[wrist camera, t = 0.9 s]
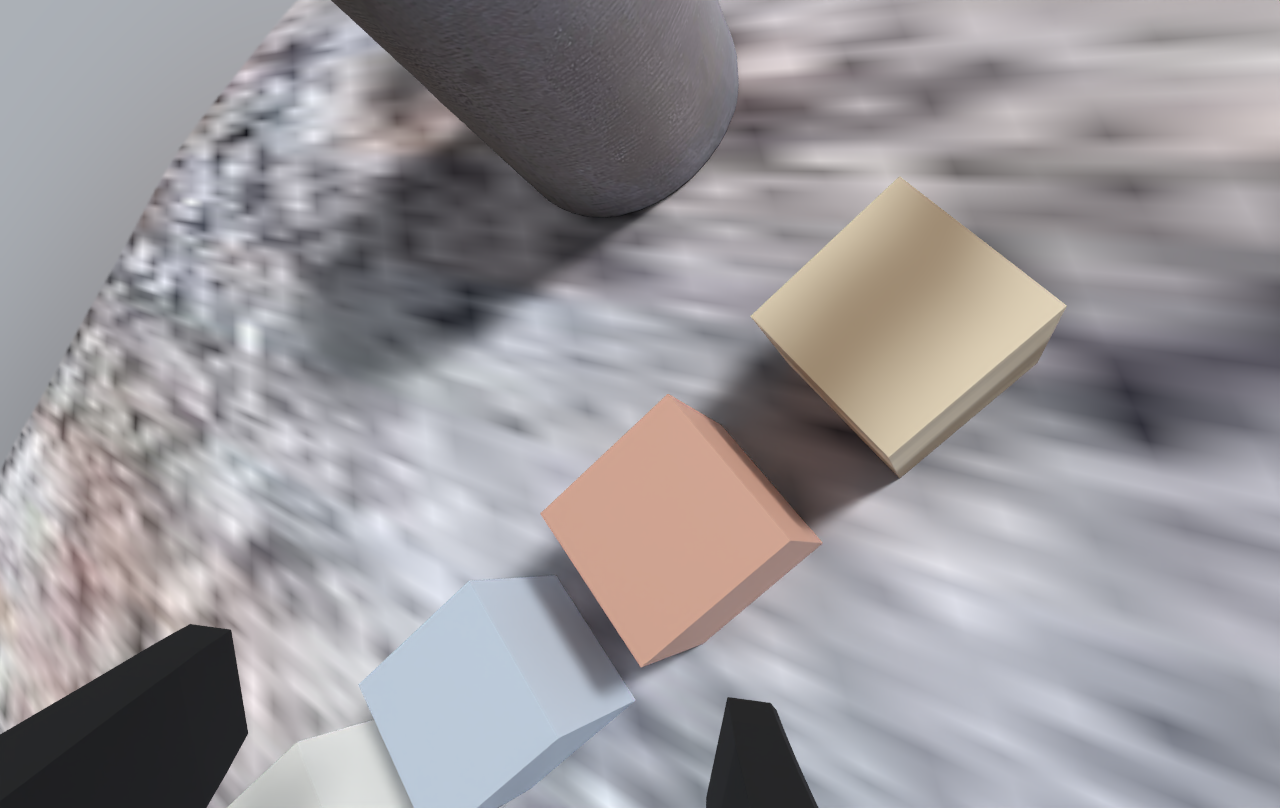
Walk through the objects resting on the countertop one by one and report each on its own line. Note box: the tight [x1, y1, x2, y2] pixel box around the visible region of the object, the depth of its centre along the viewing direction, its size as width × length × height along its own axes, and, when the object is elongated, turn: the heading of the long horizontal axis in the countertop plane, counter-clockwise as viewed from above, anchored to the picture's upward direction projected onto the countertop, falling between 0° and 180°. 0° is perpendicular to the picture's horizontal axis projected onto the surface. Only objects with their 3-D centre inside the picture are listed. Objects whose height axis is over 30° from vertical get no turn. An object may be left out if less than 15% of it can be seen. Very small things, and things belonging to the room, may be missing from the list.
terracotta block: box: [540, 394, 822, 667], centre depth 20 cm, size 5×5×5 cm
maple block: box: [751, 176, 1066, 478], centre depth 18 cm, size 5×5×5 cm
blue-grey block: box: [359, 575, 635, 808], centre depth 21 cm, size 5×5×5 cm
